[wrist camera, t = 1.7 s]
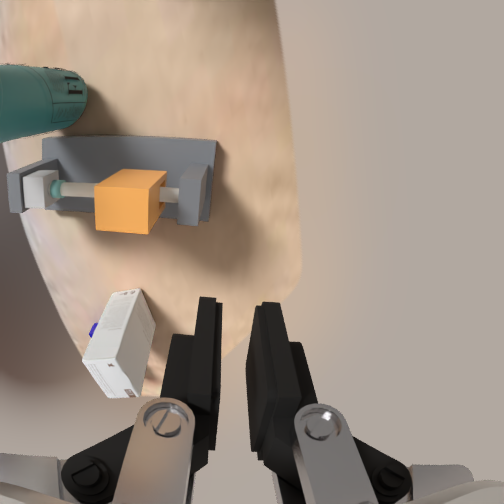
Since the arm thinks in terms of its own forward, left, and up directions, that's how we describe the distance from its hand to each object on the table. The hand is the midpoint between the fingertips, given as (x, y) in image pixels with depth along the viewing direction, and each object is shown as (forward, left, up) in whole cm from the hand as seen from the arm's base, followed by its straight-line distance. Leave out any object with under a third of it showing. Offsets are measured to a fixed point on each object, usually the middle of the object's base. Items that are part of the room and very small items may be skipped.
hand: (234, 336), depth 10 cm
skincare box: (+17, -10, -23) cm, 31 cm away
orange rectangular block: (0, -8, -18) cm, 19 cm away
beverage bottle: (-8, -18, -23) cm, 31 cm away
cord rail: (0, -11, -23) cm, 26 cm away
